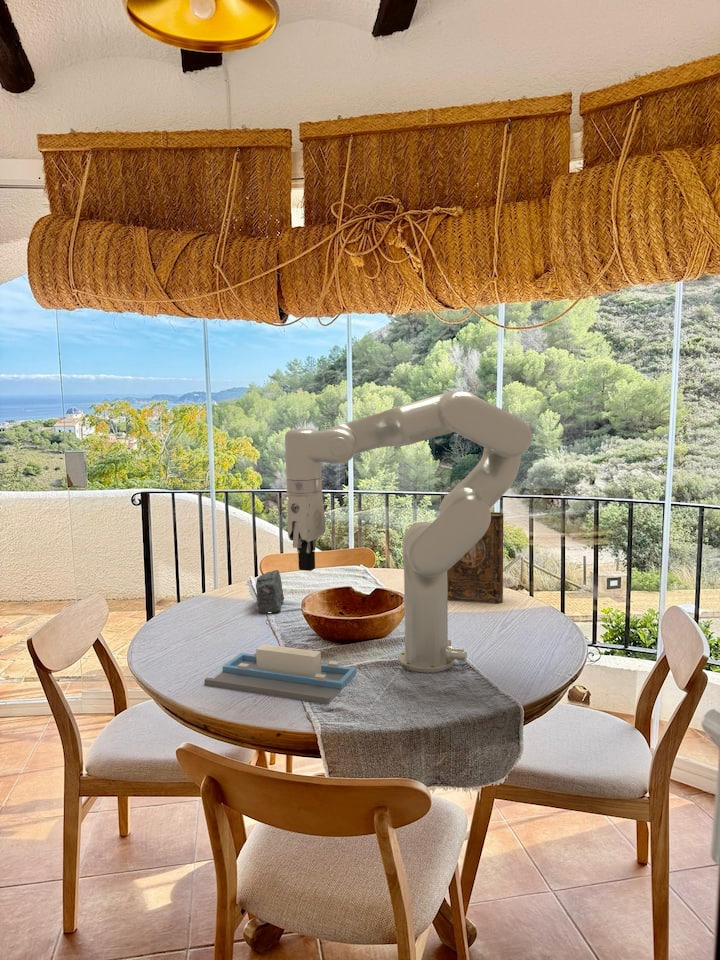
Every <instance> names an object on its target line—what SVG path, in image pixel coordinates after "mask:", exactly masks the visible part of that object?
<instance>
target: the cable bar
mask: <svg viewBox="0 0 720 960" xmlns="http://www.w3.org/2000/svg"><path fill="white" fill-rule="evenodd" d="M255 652H256V661H257V669H259V670H266V671H273V672H280V673H287V674H294V675H301V676H308V677H314V676H315V675H316V674H321V664H322V652H321V651H319V650H309V649H302V648H293V647H287V646H286V647H285V646H279V645H272V644H271V645H270V644H264V643H263V644H260V645H259V646H258V647H257V648H255Z"/></svg>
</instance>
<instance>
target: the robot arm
mask: <svg viewBox="0 0 720 960" xmlns="http://www.w3.org/2000/svg"><path fill="white" fill-rule="evenodd" d="M451 433H456V434H458V435H460V436H461V437H463V438H464V439H467V440H469V441H471V442H473V443H474V444H477V445H478V446H481V447H483V453H482V455H481V458H480V460H479V462H478V463H477V464H476V466H474V467H473V469H472V470H471V471H470V472H469V474H467V475H466V476H465V478H463V479H462V480H461V481H460V482H459V483H458V484H457V485H456V486H455V487H454V488H453V489H452V490H451V491H449V492H448V493H447V494H446V495H445V496H444V497H443V498H442V500H441V502H440V505H439V516H437V517H436V519H434V520H433V522H430V521H419V522H416V523H414V524H412V525H411V526H410V527H409V528H408V529H407V531H406V532H405V534H404V536H403V540H402V559H403V560H402V561H403V577H404V578H403V580H404V581H403V583H404V586H403V587H404V588H403V589H404V590H403V593H404V594H403V595H404V597H403V598H404V600H403V601H404V650H403V651H401V652H400V653H399V654H398V657H397V659H398V662H399V663H400V664H401V667H403V668H404V669H407V670H409V671H412V672H418V673H437V672H442V671H446V670H448V669H451V668H452V667H453V666H454V665H455V662H456V660H457V661H462V662H466V661H467V658H468V653H467V651H465V649H464V648H461V647H454V646H453V645H452V640H449V639H448V638H449V637H448V636H449V634H448V632H449V631H448V630H449V629H448V626H449V623H448V620H449V619H448V617H449V616H448V614H449V613H448V610H449V609H448V607H449V606H448V605H449V604H448V602H449V600H448V580H447V571H448V570H449V569H450V568H451V567H452V566H453V565H454V564H455V563H457V562H458V561H459V560H460V559H461V558H462V557H463V556H464V555H465V554H466V553H467V552H468V551H469V550H470V549H471V548H472V547H473V546H474V545H475V544H476V543H477V542H478V541H479V540H480V539H481V538H482V537H483V535H484V534H485V533H486V531H487V529H488V527H489V525H490V522H491V512H492V511H491V508H492V507H493V506H494V505H495V504H496V503H497V502H498V501H499V500H500V499H501V498H502V497H503V496H504V495H505V494H506V493H507V492H508V490H509V489H510V487H511V486H512V485H513V484H514V482H515V480H516V479H517V476H518V473H519V469H520V466H521V460H522V455H524V454H525V453H527V451H528V449H529V448H530V446H531V444H532V435H533V434H532V431H531V428H530V426H529V425H528V424H527V422H525V420H524V419H521V418H520V417H518V416H516V415H514V414H512V413H510V412H507V411H505V410H504V409H502V408H500V407H498V406H496V405H494V404H492V403H490V402H488V401H486V400H484V399H482V398H480V397H479V396H477V395H475V394H474V393H471V392H468V391H464V390H452V391H447V392H443V393H440V394H437V395H433V396H430V397H427V398H423V399H420V400H417V401H412V402H410V403H406V404H403V405H399V406H395V407H393V408H390V409H385V410H383V411H381V412H378V413H375V414H372V415H368V416H364V417H361V418H358V419H353V420H350V421H347V422H342V423H340V424H336V425H334V426H331V427H330V428H328V429H325V430H317V429H313V428H293V429H290V430H288V431H286V432H285V435H284V447H285V471H286V472H285V474H286V494H287V495H288V497H287V498H288V500H287V523H286V524H287V526H286V527H287V536H288V539H289V540H290V541H292V548H295V549H296V550H297V551H296V553H297V554H298V555H297V557H298V570H300V571H306V572H307V571H308V572H312V571H313V570H314V569H316V555H315V553H316V551H315V550H316V544H317V543H316V541H317V539H318V538H320V537H322V536H323V535H324V534H325V533H326V515H325V504H324V498H323V484H322V463H326V464H327V463H328V464H334V465H335V464H336V465H339V464H341V465H342V464H346V463H348V462H350V460H352V459H353V458H354V456H355V455H357V454H361V453H365V452H369V451H372V450H375V449H379V448H380V449H381V448H385V447H386V448H387V447H404V446H409V445H413V444H416V443H420V442H423V441H426V440H429V439H435V438H436V437H440V436H444V435H447V434H451Z"/></svg>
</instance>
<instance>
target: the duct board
mask: <svg viewBox="0 0 720 960" xmlns="http://www.w3.org/2000/svg"><path fill="white" fill-rule="evenodd" d="M356 675H357V668H356V667H349V666H341V665H340V662H339V661H334V660H333V661H332V660H330V661H329V662H328V663H321V674H316V675H315V676H314V677H308V676H301V675H294V674H287V673H280V672H273V671H266V670H259V669H257V661H256V651H255V652H254V653H253V654H251V653H244V652H240V653H239V654H238V655H236V656H234V657H233V658H232V659H231V660H229V661H228V662H227V663H225V664H223V665H222V672H220V673H219V674H217V675H216V676H215V677H206V678H204V686H209V687H214V688H215V687H216V688H220V689H228V690H234V691H238V692H239V691H241V692H246V693H254V694H260V695H266V696H272V697H273V696H274V697H279V698H284V699H285V698H286V699H291V700H292V699H293V700H297V701H298V700H299V701H305V702H311V703H316V704H323V705H324V704H325V705H330V704H331V703H332V701H333V700H334V699H335V698H336V697H337V695H338V694H340V692H341V691H342V690H343V689H344V688H345V687H346V686H347V684H349V683H350V681H352V679H354V677H355V676H356Z"/></svg>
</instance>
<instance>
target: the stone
mask: <svg viewBox="0 0 720 960" xmlns="http://www.w3.org/2000/svg"><path fill="white" fill-rule="evenodd" d="M255 590H256V603H257V605H256V606H257V611H258V612H259V613H261V614H262V613H263V614H269V613H268V612H274V613H277V612H280V611H281V610H282V602H284V600H285V597H284V590H283V583H282V577H281V574H280V571H279V570H278V569H276V570H272V571H268V572H266V573H263V574H261V575H259V577H257V578H256V584H255Z"/></svg>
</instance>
